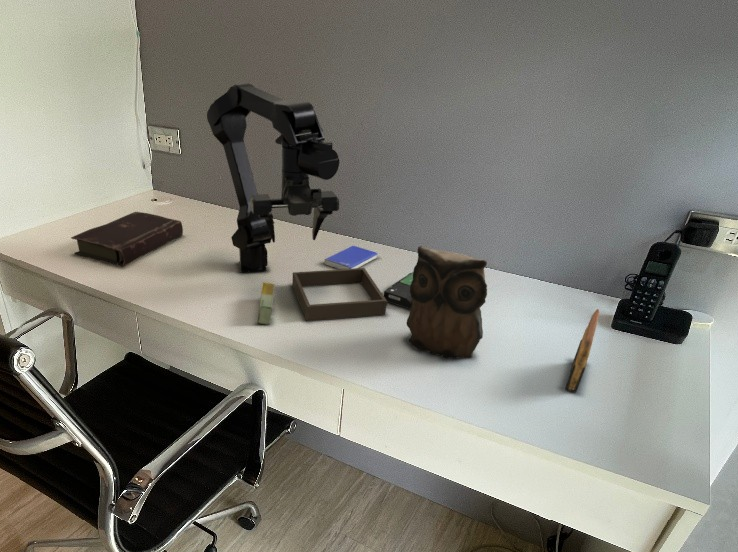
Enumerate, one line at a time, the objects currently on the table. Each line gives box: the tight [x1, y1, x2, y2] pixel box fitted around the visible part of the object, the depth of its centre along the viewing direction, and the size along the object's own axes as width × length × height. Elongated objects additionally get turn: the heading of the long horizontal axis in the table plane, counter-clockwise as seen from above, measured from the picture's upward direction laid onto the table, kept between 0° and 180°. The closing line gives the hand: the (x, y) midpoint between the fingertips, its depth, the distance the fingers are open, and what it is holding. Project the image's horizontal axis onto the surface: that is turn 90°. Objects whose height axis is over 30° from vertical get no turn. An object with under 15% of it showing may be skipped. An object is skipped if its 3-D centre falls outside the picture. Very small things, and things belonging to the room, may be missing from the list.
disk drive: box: [383, 271, 413, 310], centre depth 131 cm, size 10×3×15 cm
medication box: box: [257, 282, 275, 325], centre depth 125 cm, size 12×3×4 cm, turn 178°
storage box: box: [291, 267, 388, 322], centre depth 129 cm, size 18×18×4 cm
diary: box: [70, 211, 184, 268], centre depth 156 cm, size 19×25×5 cm
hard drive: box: [323, 245, 378, 270], centre depth 148 cm, size 2×8×12 cm
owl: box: [406, 245, 488, 359], centre depth 108 cm, size 13×13×20 cm
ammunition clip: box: [564, 308, 600, 393], centre depth 101 cm, size 11×2×12 cm, turn 149°
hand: (293, 240), depth 128 cm, fingers open, 9 cm apart
